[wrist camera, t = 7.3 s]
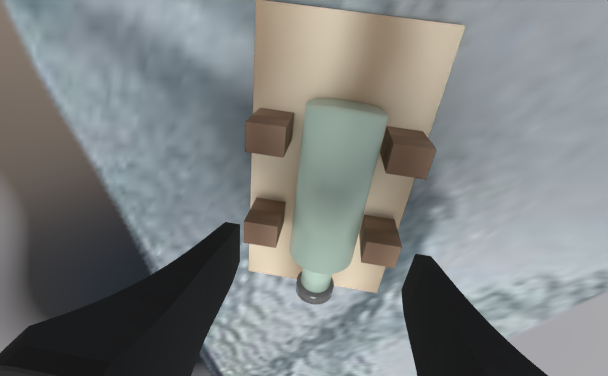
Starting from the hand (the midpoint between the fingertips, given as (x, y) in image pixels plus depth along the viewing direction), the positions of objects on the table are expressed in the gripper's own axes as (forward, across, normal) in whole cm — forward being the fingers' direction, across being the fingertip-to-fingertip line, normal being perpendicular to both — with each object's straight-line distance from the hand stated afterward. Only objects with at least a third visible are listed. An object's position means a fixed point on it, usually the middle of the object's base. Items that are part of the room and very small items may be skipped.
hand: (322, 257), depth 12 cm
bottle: (+7, 0, +1) cm, 7 cm away
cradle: (+8, 0, 0) cm, 8 cm away
